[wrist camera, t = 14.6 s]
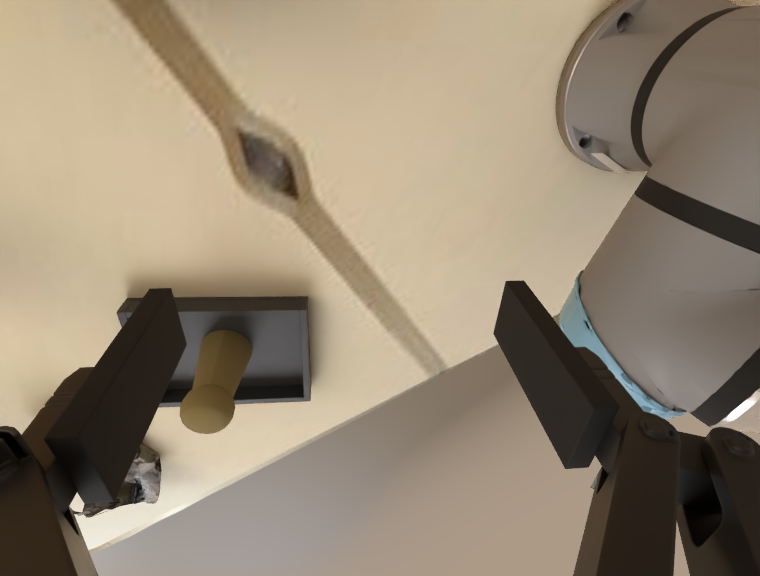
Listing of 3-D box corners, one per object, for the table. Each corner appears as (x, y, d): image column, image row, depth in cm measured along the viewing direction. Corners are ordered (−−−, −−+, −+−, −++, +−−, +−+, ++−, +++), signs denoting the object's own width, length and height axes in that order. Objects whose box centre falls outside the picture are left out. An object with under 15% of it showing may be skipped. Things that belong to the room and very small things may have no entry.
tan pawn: (243, 372, 51) (225, 447, 42) (194, 360, 49) (164, 435, 40) (259, 338, 49) (243, 410, 40) (207, 323, 47) (178, 395, 38)
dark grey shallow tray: (307, 296, 47) (306, 309, 45) (311, 385, 55) (310, 401, 52) (126, 297, 44) (116, 312, 42) (157, 391, 52) (149, 408, 50)
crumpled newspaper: (96, 516, 60) (-9, 534, 46) (103, 439, 64) (10, 435, 50) (170, 502, 59) (87, 516, 45) (173, 425, 63) (97, 417, 49)
